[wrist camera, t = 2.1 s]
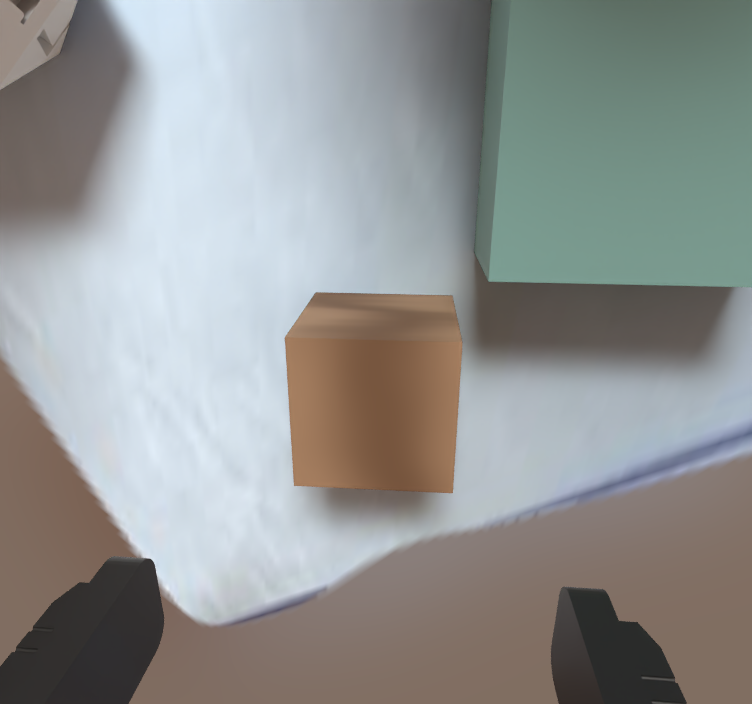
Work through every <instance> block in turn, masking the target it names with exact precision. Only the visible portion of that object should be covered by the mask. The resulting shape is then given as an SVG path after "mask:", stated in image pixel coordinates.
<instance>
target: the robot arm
mask: <svg viewBox="0 0 752 704" xmlns="http://www.w3.org/2000/svg"><path fill="white" fill-rule="evenodd" d="M163 627H164V614H163V608H162V603H161V597H160V591H159V586H158V580H157V575H156V569H155V565H154V562H153V561H152V560H151V559H147V558H132V557H130V558H129V557H115V556H114V557H111V558H109V559H108V560H107V561H106V562H105V563H104V564H103V566H102V567H101V568H100V569H99V571H98V572H97V573H96V575H95V576H94V578H93V579H92V580H91V581H90V583H78V584H77V585H76V586H74V587H73V588H71V589H70V590H69V591H67V592H66V593H65V594H63V595H62V596H61V597H59V598H58V599H57V600H55V601H54V602H53V603H52V604H51V605H50V606H49V608H48V609H47V610H46V611H45V613H44V614H43V615H42V616H41V617H40V619H39V620H38V621H37V622H36V624H35V625H34V626H33V630H32V631H31V632H28V633H27V635H26V636H25V637H24V638H23V639H22V641H21V642H20V643H19V644H18V645H17V647H16V651H15V652H12V653H11V654H10V655H9V656H8V658H7V659H6V660H5V661H4V663H3V664H2V665H1V666H0V704H129V701H130V700H131V698H132V696H133V694H134V692H135V690H136V688H137V686H138V685H139V683H140V681H141V679H142V677H143V675H144V674H145V672H146V670H147V668H148V666H149V664H150V662H151V660H152V659H153V657H154V655H155V653H156V651H157V649H158V646H159V644H160V641H161V637H162V633H163ZM551 665H552V674H553V681H554V685H555V690H556V694H557V698H558V702H559V704H686V700H685V698H684V696H683V694H682V692H681V690H680V688H679V686H678V683H675V677H674V675H673V673H672V671H671V668H670V666H669V664H668V662H667V660H666V658H665V656H664V653H663V651H662V649H661V648H660V646H659V645H658V644H657V643H656V642H655V641H654V640H653V639H652V638H651V637H650V636H649V635H648V633H647V632H646V631H645V630H644V629H643V628H642V627H641V626H640V625H639V624H638V622H625V621H619V620H618V618H617V616H616V613H615V610H614V608H613V606H612V603H611V601H610V598H609V596H608V594H607V593H606V591H605V590H603V589H589V588H574V587H562V588H561V591H560V595H559V601H558V607H557V614H556V621H555V627H554V633H553V639H552V646H551Z"/></svg>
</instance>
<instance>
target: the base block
mask: <svg viewBox="0 0 752 704" xmlns="http://www.w3.org/2000/svg"><path fill="white" fill-rule="evenodd" d="M474 253H475V255H476V257H477V259H478V261H479V263H480V265H481V267H482V270H483V272H484V274H485V276H486V278H487V280H488V282H530V283H577V284H623V285H669V286H715V287H752V0H492V2H491V17H490V31H489V45H488V60H487V74H486V89H485V103H484V118H483V132H482V146H481V161H480V175H479V190H478V204H477V219H476V233H475V247H474Z"/></svg>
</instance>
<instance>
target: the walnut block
mask: <svg viewBox="0 0 752 704" xmlns="http://www.w3.org/2000/svg"><path fill="white" fill-rule="evenodd" d="M285 346H286V363H287V379H288V395H289V411H290V427H291V444H292V460H293V476H294V486H312V487H333V488H354V489H375V490H396V491H418V492H439V493H453V480H454V464H455V449H456V434H457V418H458V403H459V387H460V372H461V356H462V338H461V334H460V329H459V324H458V320H457V315H456V310H455V306H454V301H453V296H448V295H404V294H361V293H317V292H316V293H315V294H314V296H313V297H312V299H311V300H310V302H309V303H308V305H307V306H306V308H305V309H304V310H303V312H302V313H301V315H300V316H299V318H298V319H297V321H296V322H295V323H294V325H293V326H292V328H291V329H290V331H289V332H288V334H287V335H286V337H285Z"/></svg>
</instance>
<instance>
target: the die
mask: <svg viewBox="0 0 752 704" xmlns="http://www.w3.org/2000/svg"><path fill="white" fill-rule="evenodd" d="M77 1H78V0H0V90H1V89H3V88H4V87H6V86H7V85H9V84H11V83H12V82H14V81H16V80H17V79H19V78H21V77H22V76H24V75H26V74H27V73H29V72H30V71H32V70H34V69H35V68H37V67H39V66H40V65H42V64H44V63H45V62H47V61H49V60H50V59H52V58H53V57H55V56H57V55H58V54H60V51H61V48H62V45H63V42H64V40H65V37H66V34H67V31H68V28H69V22H70V20H71V19H72V16H73V13H74V10H75V7H76V4H77Z"/></svg>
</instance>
